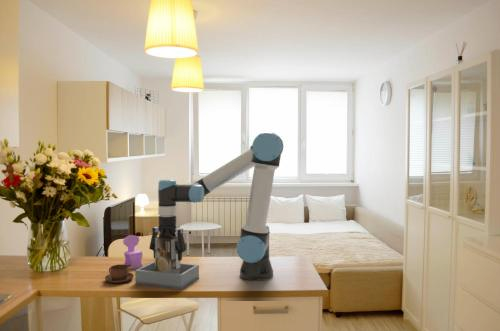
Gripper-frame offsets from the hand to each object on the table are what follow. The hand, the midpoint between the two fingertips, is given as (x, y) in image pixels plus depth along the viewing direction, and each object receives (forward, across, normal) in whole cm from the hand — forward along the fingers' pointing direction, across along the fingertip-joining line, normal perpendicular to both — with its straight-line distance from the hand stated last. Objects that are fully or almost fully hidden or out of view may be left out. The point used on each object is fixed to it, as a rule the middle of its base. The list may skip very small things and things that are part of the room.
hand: (167, 266), depth 181 cm
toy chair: (+7, +28, -15) cm, 32 cm away
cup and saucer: (+7, +21, +6) cm, 23 cm away
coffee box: (+3, 0, 0) cm, 3 cm away
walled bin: (+6, 0, 0) cm, 6 cm away
